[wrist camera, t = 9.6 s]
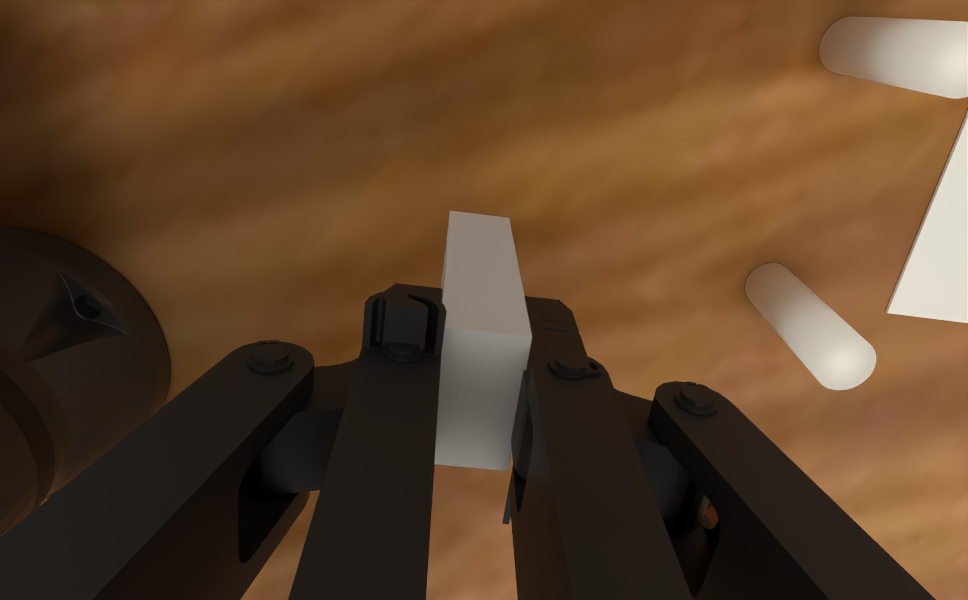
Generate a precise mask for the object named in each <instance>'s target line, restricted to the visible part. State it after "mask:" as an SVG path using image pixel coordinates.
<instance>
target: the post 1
mask: <svg viewBox="0 0 968 600" xmlns="http://www.w3.org/2000/svg"><path fill="white" fill-rule="evenodd" d="M745 293H746V296H747V298H748V299H749V300H750V301H751V303H752V304H753V305H754V306H755V307H756V308H757V310H758V311H759V312H760V313H761V314H762V315H763V317H764V318H765V319H766V320H767V321H768V322H769V324H770V325H771V326H772V327H773V328H774V329H775V331H776V332H777V333H778V334H779V335H780V336H781V338H782V339H783V340H784V341H785V342H786V344H787V345H788V346H789V347H790V348H791V349H792V351H793V352H794V353H795V354H796V355H797V356H798V358H799V359H800V360H801V361H802V362H803V363H804V365H805V366H806V367H807V368H808V369H809V370H810V372H811V373H812V374H813V375H814V376H815V377H816V379H817V380H818V381H819V382H820V383H821V384H822V385H823V386H825V387H827V388H829V389H833V390H846V389H850V388H853V387H856V386H858V385H859V384H861V383H862V382H864V381H865V380H866V379H867V378H868V377H869V376H870V375H871V373H872V372H873V370H874V367H875V364H876V354H875V351H874V349H873V347H872V346H871V345H870V344H869V343H868V342H867V341H866V340H865V339H864V338H862V337H861V336H860V335H859V334H858V333H857V332H856V331H855V330H854V329H853V328H852V327H850V326H849V325H848V324H847V323H846V322H845V321H844V320H843V319H842V318H841V317H840V316H838V315H837V314H836V313H835V312H834V311H833V310H832V309H831V308H830V307H829V306H827V305H826V304H825V303H824V302H823V301H822V300H821V299H820V298H819V297H818V296H817V295H815V294H814V293H813V292H812V291H811V290H810V289H809V288H808V287H807V286H806V285H805V284H803V283H802V282H801V281H800V280H799V279H798V278H797V277H796V276H795V275H794V274H793V273H791V272H790V271H789V270H788V269H787V268H786V267H785V266H783V265H781V264H777V263H767V264H763V265H761V266H759V267H757V268H756V269H754V270H753V271H752V272H751V273H750V275H749V276H748V278H747V280H746V283H745Z"/></svg>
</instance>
